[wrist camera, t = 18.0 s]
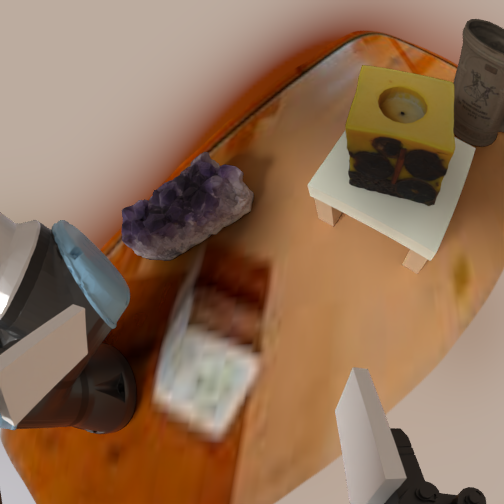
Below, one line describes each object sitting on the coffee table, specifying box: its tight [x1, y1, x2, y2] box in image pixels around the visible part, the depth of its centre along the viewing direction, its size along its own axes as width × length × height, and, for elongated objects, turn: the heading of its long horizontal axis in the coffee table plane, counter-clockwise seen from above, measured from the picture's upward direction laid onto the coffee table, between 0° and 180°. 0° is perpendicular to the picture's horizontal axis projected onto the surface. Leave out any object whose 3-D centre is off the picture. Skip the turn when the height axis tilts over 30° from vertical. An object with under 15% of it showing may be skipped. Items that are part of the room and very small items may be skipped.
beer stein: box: [453, 19, 504, 146], centre depth 32 cm, size 15×10×20 cm
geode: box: [122, 152, 254, 261], centre depth 45 cm, size 20×12×10 cm, turn 121°
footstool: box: [308, 130, 476, 274], centre depth 37 cm, size 16×16×9 cm
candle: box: [345, 65, 455, 206], centre depth 28 cm, size 10×10×10 cm
